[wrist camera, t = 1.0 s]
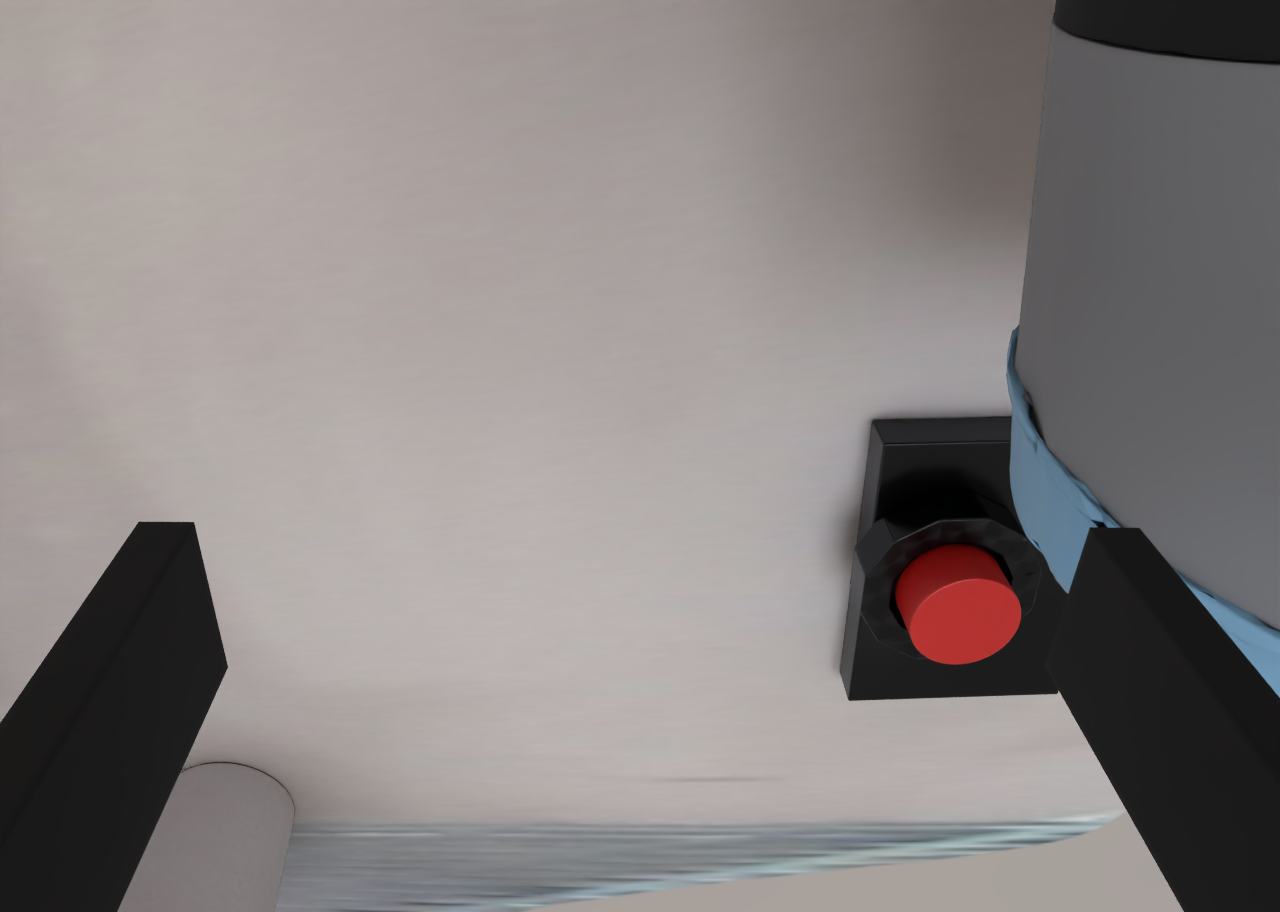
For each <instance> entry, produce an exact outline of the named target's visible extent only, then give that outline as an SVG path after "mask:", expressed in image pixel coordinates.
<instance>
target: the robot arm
mask: <svg viewBox="0 0 1280 912" xmlns="http://www.w3.org/2000/svg"><path fill="white" fill-rule="evenodd" d="M1006 376H1007V384H1008V391H1009V396H1010V399H1011V403H1012V426H1011V456H1010V485H1011V491H1012V496H1013V502H1014V505H1015V508H1016V512H1017V515H1018V518H1019V520H1020V522H1021V525H1022V527H1023V530H1024V532H1025V534H1026V536H1027V538H1028V539H1029V540H1030V541H1031V542H1032V544H1033V545H1034V546H1035V547H1036V548H1037V549H1038V550H1039V551H1040V552H1041V553H1043V555H1044V557H1045V559H1046V561H1047V563H1048V566H1049V568H1050V571H1051V572H1052V573H1053V575H1054V577H1055V579H1056V581H1057V582H1058V583H1059V584H1060V585H1061V587H1062V588H1063V589H1064V590H1065V591H1066V592H1067V593H1068V596H1067V599H1066V602H1065V605H1064V608H1063V611H1062V614H1061V617H1060V621H1059V624H1058V627H1057V630H1056V633H1055V636H1054V639H1053V642H1052V645H1051V648H1050V651H1049V654H1048V657H1047V660H1046V664H1045V667H1046V669H1047V670H1048V672H1049V674H1050V676H1051V677H1052V679H1053V681H1054V683H1055V684H1056V686H1057V688H1058V690H1059V692H1060V693H1061V695H1062V697H1063V699H1064V700H1065V702H1066V704H1067V706H1068V707H1069V709H1070V711H1071V713H1072V715H1073V716H1074V718H1075V720H1076V722H1077V723H1078V725H1079V727H1080V729H1081V730H1082V732H1083V734H1084V736H1085V737H1086V739H1087V741H1088V743H1089V745H1090V746H1091V748H1092V750H1093V752H1094V753H1095V755H1096V757H1097V759H1098V760H1099V762H1100V764H1101V766H1102V768H1103V769H1104V771H1105V773H1106V775H1107V776H1108V778H1109V780H1110V782H1111V783H1112V785H1113V787H1114V789H1115V791H1116V792H1117V794H1118V796H1119V798H1120V799H1121V801H1122V803H1123V805H1124V806H1125V808H1126V810H1127V812H1128V814H1129V815H1130V817H1131V819H1132V821H1133V822H1134V824H1135V826H1136V828H1137V829H1138V831H1139V833H1140V835H1141V836H1142V838H1143V840H1144V842H1145V844H1146V845H1147V847H1148V849H1149V851H1150V852H1151V854H1152V856H1153V858H1154V859H1155V861H1156V863H1157V865H1158V867H1159V868H1160V870H1161V872H1162V873H1163V875H1164V877H1165V879H1166V881H1167V882H1168V884H1169V886H1170V888H1171V890H1172V891H1173V893H1174V895H1175V897H1176V898H1177V900H1178V902H1179V903H1180V905H1181V907H1182V909H1183V911H1184V912H1280V0H1056V7H1055V13H1054V16H1053V20H1052V25H1051V34H1050V43H1049V53H1048V62H1047V71H1046V81H1045V90H1044V99H1043V109H1042V118H1041V127H1040V137H1039V146H1038V155H1037V165H1036V174H1035V183H1034V193H1033V202H1032V211H1031V221H1030V230H1029V239H1028V248H1027V258H1026V267H1025V276H1024V286H1023V295H1022V304H1021V314H1020V323H1019V326H1018V327H1017V328H1016V329H1014V330H1013V331H1012V335H1011V339H1010V343H1009V347H1008V354H1007V374H1006ZM227 668H228V665H227V661H226V657H225V653H224V648H223V644H222V640H221V636H220V631H219V627H218V623H217V619H216V614H215V610H214V606H213V601H212V597H211V593H210V589H209V584H208V580H207V576H206V572H205V567H204V563H203V559H202V555H201V550H200V546H199V542H198V537H197V533H196V529H195V525H194V522H138V524H137V525H136V527H135V528H134V530H133V531H132V533H131V534H130V535H129V537H128V538H127V540H126V541H125V543H124V544H123V546H122V547H121V549H120V550H119V551H118V553H117V554H116V556H115V557H114V559H113V560H112V562H111V563H110V565H109V566H108V567H107V569H106V570H105V572H104V573H103V575H102V576H101V578H100V579H99V581H98V582H97V583H96V585H95V586H94V588H93V589H92V591H91V592H90V594H89V595H88V597H87V598H86V599H85V601H84V602H83V604H82V605H81V607H80V608H79V610H78V611H77V612H76V614H75V615H74V617H73V618H72V620H71V621H70V623H69V624H68V626H67V627H66V628H65V630H64V631H63V633H62V634H61V636H60V637H59V639H58V640H57V642H56V643H55V644H54V646H53V647H52V649H51V650H50V652H49V653H48V655H47V656H46V658H45V659H44V660H43V662H42V663H41V665H40V666H39V668H38V669H37V671H36V672H35V674H34V675H33V676H32V678H31V679H30V681H29V682H28V684H27V685H26V687H25V688H24V690H23V691H22V692H21V694H20V695H19V697H18V698H17V700H16V701H15V703H14V704H13V706H12V707H11V708H10V710H9V711H8V713H7V714H6V716H5V717H4V719H3V720H2V722H1V723H0V912H117V911H118V909H119V907H120V905H121V902H122V900H123V898H124V896H125V893H126V891H127V889H128V887H129V885H130V882H131V880H132V878H133V876H134V874H135V871H136V869H137V867H138V865H139V863H140V860H141V858H142V856H143V854H144V852H145V849H146V847H147V845H148V843H149V840H150V838H151V836H152V834H153V832H154V829H155V827H156V825H157V823H158V821H159V818H160V816H161V814H162V812H163V810H164V807H165V805H166V803H167V801H168V798H169V796H170V794H171V792H172V790H173V787H174V785H175V783H176V781H177V779H178V776H179V774H180V772H181V770H182V768H183V765H184V763H185V761H186V759H187V757H188V754H189V752H190V750H191V748H192V745H193V743H194V741H195V739H196V737H197V734H198V732H199V730H200V728H201V726H202V723H203V721H204V719H205V717H206V715H207V712H208V710H209V708H210V706H211V703H212V701H213V699H214V697H215V695H216V692H217V690H218V688H219V686H220V684H221V681H222V679H223V677H224V675H225V673H226V670H227Z"/></svg>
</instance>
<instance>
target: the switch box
mask: <svg viewBox="0 0 1280 912" xmlns="http://www.w3.org/2000/svg"><path fill="white" fill-rule="evenodd" d="M1011 426H1012V417H996V418H955V419H914V420H874V421H873V422H872V427H871V435H870V443H869V450H868V458H867V466H866V473H865V481H864V489H863V497H862V504H861V512H860V520H859V527H858V535H857V543H856V546H855V550H854V557H853V565H852V573H851V581H850V584H851V589H850V597H849V605H848V612H847V620H846V628H845V636H844V643H843V651H842V659H841V666H840V674H841V677H842V681H843V684H844V687H845V691H846V694H847V697H848V700H850V701H855V700H885V699H916V698H946V697H977V696H1007V695H1038V694H1057V693H1058V691H1059V690H1058V688H1057V686H1056V684H1055V683H1054V681H1053V679H1052V677H1051V676H1050V674H1049V672H1048V670H1047V669H1046V667H1045V664H1046V660H1047V657H1048V654H1049V651H1050V648H1051V645H1052V642H1053V639H1054V636H1055V633H1056V630H1057V627H1058V624H1059V621H1060V617H1061V614H1062V611H1063V608H1064V605H1065V602H1066V599H1067V596H1068V593H1067V592H1066V591H1065V590H1064V589H1063V588H1062V587H1061V585H1060V584H1059V583H1058V582H1057V581H1056V579H1055V577H1054V575H1053V573H1052V572H1051V571H1050V568H1049V566H1048V563H1047V561H1046V559H1045V557H1044V555H1043V553H1041V552H1040V551H1039V550H1038V549H1037V548H1036V547H1035V546H1034V545H1033V544H1032V542H1031V541H1030V540H1029V539H1028V538H1027V536H1026V534H1025V532H1024V530H1023V527H1022V525H1021V522H1020V520H1019V518H1018V515H1017V512H1016V508H1015V505H1014V502H1013V496H1012V491H1011V485H1010V456H1011ZM948 544H967V545H972V546H976V547H978V548H981V549H983V550H984V551H986V552H988V553H989V554H990V555H991V556H992V557H993V558H994V559H995V560H996V562H997V563H998V565H999V567H1000V568H1001V570H1002V572H1003V574H1004V575H1005V577H1006V579H1007V580H1008V582H1009V584H1010V586H1011V587H1012V589H1013V591H1014V593H1015V594H1016V596H1017V598H1018V600H1019V602H1020V606H1021V620H1020V624H1019V627H1018V629H1017V631H1016V633H1015V634H1014V636H1013V637H1012V638H1011V640H1010V641H1009V642H1008V643H1007V644H1006V645H1005V646H1004V647H1002V648H1001V649H1000V650H999V651H997V652H995V653H994V654H992V655H990V656H988V657H986V658H984V659H981V660H979V661H975V662H972V663H966V664H943V663H939V662H936V661H933V660H931V659H929V658H927V657H925V656H924V655H923V654H921V653H920V652H919V651H918V650H917V649H916V647H915V646H914V644H913V642H912V640H911V637H910V635H909V633H908V630H907V628H906V625H905V623H904V620H903V618H902V615H901V613H900V610H899V608H898V606H897V602H896V597H895V591H896V585H897V582H898V579H899V577H900V575H901V573H902V572H903V570H904V569H905V568H906V566H907V565H908V564H909V563H910V562H911V561H913V560H914V559H915V558H916V557H918V556H919V555H921V554H923V553H925V552H927V551H929V550H931V549H933V548H936V547H939V546H943V545H948Z"/></svg>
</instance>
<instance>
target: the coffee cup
mask: <svg viewBox="0 0 1280 912" xmlns="http://www.w3.org/2000/svg"><path fill="white" fill-rule="evenodd" d="M294 815H295V810H294V804H293V801H292V799H291V797H290V795H289V794H288V792H287V791H286V790H285V789H284V788H283V786H281V785H280V784H279V783H278V782H277V781H276V780H274V779H273V778H271V777H270V776H268V775H266V774H264V773H262V772H260V771H258V770H255V769H253V768H249V767H246V766H242V765H237V764H230V763H210V764H204V765H199V766H195V767H192V768H190V769H188V770H186V771H184V772H182V773H180V774H179V776H178V779H177V781H176V783H175V785H174V787H173V790H172V792H171V794H170V796H169V798H168V801H167V803H166V805H165V807H164V810H163V812H162V814H161V816H160V818H159V821H158V823H157V825H156V827H155V829H154V832H153V834H152V836H151V838H150V840H149V843H148V845H147V847H146V849H145V852H144V854H143V856H142V858H141V860H140V863H139V865H138V867H137V869H136V871H135V874H134V876H133V878H132V880H131V882H130V885H129V887H128V889H127V891H126V893H125V896H124V898H123V900H122V902H121V905H120V907H119V909H118V911H117V912H274V911H275V906H276V901H277V896H278V892H279V887H280V882H281V878H282V873H283V868H284V863H285V859H286V854H287V849H288V845H289V840H290V835H291V830H292V826H293V821H294Z"/></svg>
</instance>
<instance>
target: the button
mask: <svg viewBox="0 0 1280 912" xmlns="http://www.w3.org/2000/svg"><path fill="white" fill-rule="evenodd" d="M895 597H896V602H897V606H898V608H899V610H900V613H901V615H902V618H903V620H904V623H905V625H906V628H907V630H908V633H909V635H910V637H911V640H912V642H913V644H914V646H915V647H916V649H917V650H918V651H919V652H920V653H921V654H923V655H924V656H925V657H927V658H929V659H931V660H933V661H936V662H939V663H943V664H966V663H972V662H975V661H979V660H981V659H984V658H986V657H988V656H990V655H992V654H994V653H995V652H997V651H999V650H1000V649H1001V648H1002V647H1004V646H1005V645H1006V644H1007V643H1008V642H1009V641H1010V640H1011V638H1012V637H1013V636H1014V634H1015V633H1016V631H1017V629H1018V627H1019V624H1020V620H1021V606H1020V602H1019V600H1018V598H1017V596H1016V594H1015V593H1014V591H1013V589H1012V587H1011V586H1010V584H1009V582H1008V580H1007V579H1006V577H1005V575H1004V574H1003V572H1002V570H1001V568H1000V567H999V565H998V563H997V562H996V560H995V559H994V558H993V557H992V556H991V555H990V554H989V553H988V552H986V551H984V550H983V549H981V548H978V547H976V546H972V545H967V544H948V545H943V546H939V547H936V548H933V549H931V550H929V551H927V552H925V553H923V554H921V555H919V556H918V557H916V558H915V559H914V560H913V561H911V562H910V563H909V564H908V565H907V566H906V568H905V569H904V570H903V572H902V573H901V575H900V577H899V579H898V582H897V585H896V591H895Z"/></svg>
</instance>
